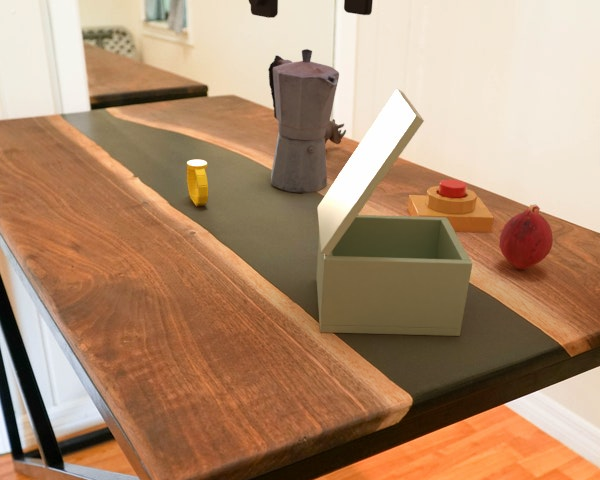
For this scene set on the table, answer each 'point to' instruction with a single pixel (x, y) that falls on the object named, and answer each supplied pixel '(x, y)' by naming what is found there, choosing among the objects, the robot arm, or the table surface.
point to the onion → (526, 238)
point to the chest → (394, 278)
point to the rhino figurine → (334, 132)
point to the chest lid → (366, 169)
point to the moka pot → (301, 121)
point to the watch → (197, 181)
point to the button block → (453, 210)
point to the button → (452, 189)
